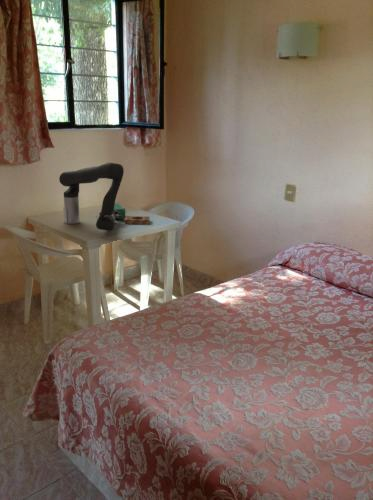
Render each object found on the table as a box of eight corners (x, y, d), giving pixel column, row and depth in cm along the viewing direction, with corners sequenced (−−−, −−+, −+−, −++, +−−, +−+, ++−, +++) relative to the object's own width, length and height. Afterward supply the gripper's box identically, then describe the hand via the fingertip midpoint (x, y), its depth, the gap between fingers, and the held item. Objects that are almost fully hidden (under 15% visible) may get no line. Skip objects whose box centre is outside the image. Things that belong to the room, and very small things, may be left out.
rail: (124, 224, 284) (124, 219, 283) (126, 220, 294) (125, 216, 293) (149, 224, 285) (149, 220, 284) (149, 220, 294) (149, 216, 294)
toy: (119, 198, 317) (128, 206, 290) (119, 211, 320) (128, 220, 293) (102, 199, 313) (110, 207, 286) (103, 212, 316) (110, 221, 289)
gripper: (120, 212, 270) (122, 206, 286) (96, 211, 269) (100, 205, 285) (120, 223, 272) (122, 217, 288) (97, 223, 271) (101, 216, 288)
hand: (111, 211), depth 287 cm, fingers open, 5 cm apart
